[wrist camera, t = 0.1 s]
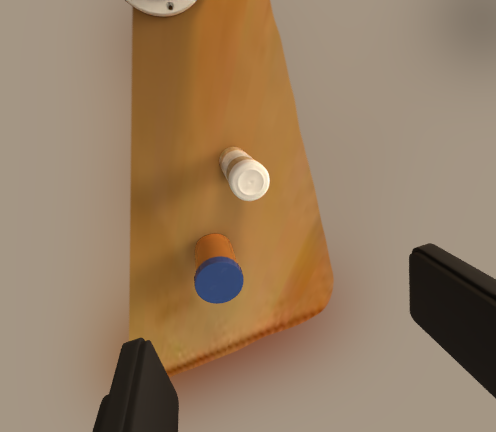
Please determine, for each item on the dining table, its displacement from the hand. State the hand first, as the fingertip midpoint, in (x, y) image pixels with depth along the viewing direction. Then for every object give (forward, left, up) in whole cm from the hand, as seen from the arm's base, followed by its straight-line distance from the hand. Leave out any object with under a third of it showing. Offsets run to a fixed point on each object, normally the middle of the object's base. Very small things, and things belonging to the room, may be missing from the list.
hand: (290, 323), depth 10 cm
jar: (+16, -4, -37) cm, 40 cm away
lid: (+16, -4, -27) cm, 32 cm away
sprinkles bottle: (+2, +3, -37) cm, 37 cm away
